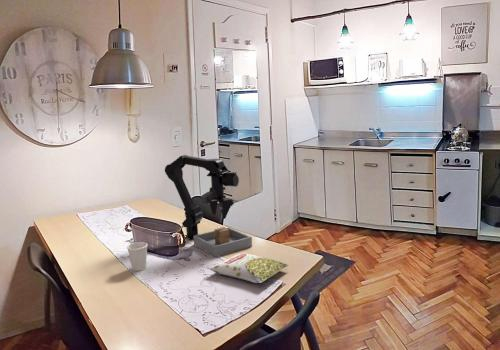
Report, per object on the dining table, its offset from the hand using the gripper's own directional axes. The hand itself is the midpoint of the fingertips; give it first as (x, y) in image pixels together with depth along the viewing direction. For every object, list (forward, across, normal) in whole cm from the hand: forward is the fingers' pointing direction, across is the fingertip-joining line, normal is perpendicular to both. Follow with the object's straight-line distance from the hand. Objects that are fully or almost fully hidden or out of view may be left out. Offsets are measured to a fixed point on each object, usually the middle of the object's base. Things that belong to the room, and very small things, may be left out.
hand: (219, 216), depth 203 cm
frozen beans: (+12, +41, -12) cm, 44 cm away
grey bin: (+12, +7, -3) cm, 14 cm away
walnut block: (+11, +7, -3) cm, 13 cm away
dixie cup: (+12, +7, -44) cm, 46 cm away
